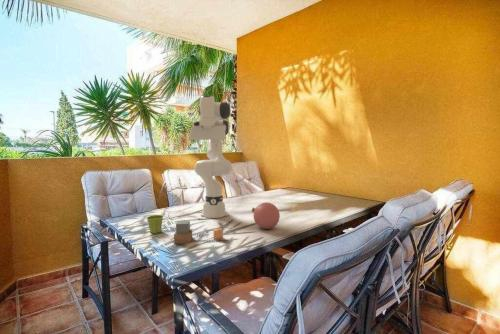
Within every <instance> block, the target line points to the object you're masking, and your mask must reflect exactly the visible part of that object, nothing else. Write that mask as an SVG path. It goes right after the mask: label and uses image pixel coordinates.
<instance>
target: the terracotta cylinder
mask: <svg viewBox="0 0 500 334" xmlns="http://www.w3.org/2000/svg"><path fill="white" fill-rule="evenodd" d="M212 234H213V240H215V241H221V240H224V229H223V228H222V227H216V228H214V229H213V233H212Z"/></svg>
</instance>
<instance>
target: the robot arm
mask: <svg viewBox="0 0 500 334" xmlns="http://www.w3.org/2000/svg"><path fill="white" fill-rule="evenodd" d="M231 111H232V108H231V105H230V103H229V102H227V101H223V102H222V101H221V102H219V101H217V102H215V96H214V95H212V94H204V95H203V94H202V95H201V96H200V99H199V106H198V115H199V120H197V121H193V122H192V123H191V126H192V127H191V128H190V134H189V139H190V140H194V141H196V143H197V144H198V148H199V149H202V144H201V143H200V141H201V140H203V141H204V140H205V141H207V145H206V146H207V147H206V156H207V158H208V159H202V160H198V161H196V162H195V164H194V172H195V174H196V175H197V176H199V177H200V178H201V179H202V181H203V183H204V185H205V186H204V187H205V200H204V201H205V202H204V203H203V205H202V206H203V209H202V210H203V212H202V213H201V214H200V216H201V217H204V218H209V219H219V218H223V217H228V216H229V213H228V212H227V209H226V203H225V202H224V201H223V200H224V197H223V185H222V183H221V182H220V181H218V180H216V179H215V178H214V176H216V177H217V176H220V177H221V176H227V175H230V174H231V173H232V171H233V163H232V162H231V161H230V160H229V159H227V158H225V156H224V155H223V140H226V138H227V137H226V135H229V134H228V133H230V129H231V126H230V123H229V121H228V120H227V119H229V118H230V116H231V113H232V112H231Z"/></svg>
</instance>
